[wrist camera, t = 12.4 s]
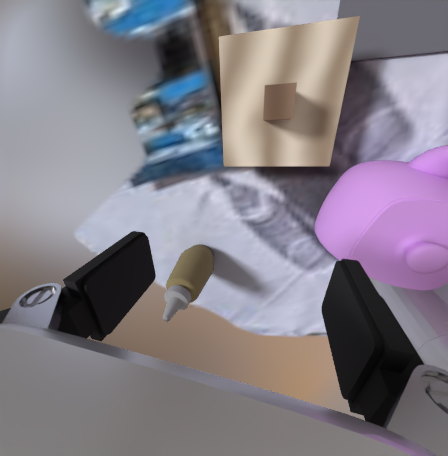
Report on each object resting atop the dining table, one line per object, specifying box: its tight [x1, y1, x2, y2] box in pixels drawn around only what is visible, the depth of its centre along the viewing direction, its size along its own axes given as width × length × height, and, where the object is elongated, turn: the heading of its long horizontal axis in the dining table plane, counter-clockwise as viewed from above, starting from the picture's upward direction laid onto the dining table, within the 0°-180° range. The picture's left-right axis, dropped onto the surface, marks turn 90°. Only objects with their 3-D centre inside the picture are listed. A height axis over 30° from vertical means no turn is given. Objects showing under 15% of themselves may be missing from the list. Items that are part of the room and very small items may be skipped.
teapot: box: [315, 145, 448, 290], centre depth 26 cm, size 23×21×15 cm
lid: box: [219, 16, 360, 166], centre depth 23 cm, size 15×15×6 cm
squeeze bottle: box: [163, 245, 214, 321], centre depth 39 cm, size 8×8×18 cm
